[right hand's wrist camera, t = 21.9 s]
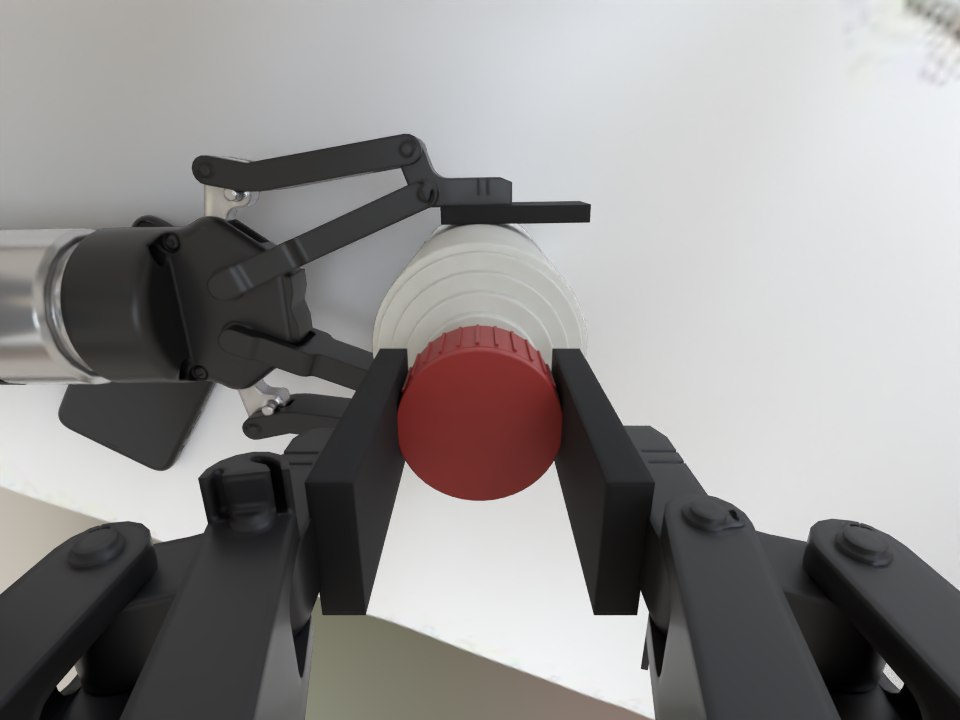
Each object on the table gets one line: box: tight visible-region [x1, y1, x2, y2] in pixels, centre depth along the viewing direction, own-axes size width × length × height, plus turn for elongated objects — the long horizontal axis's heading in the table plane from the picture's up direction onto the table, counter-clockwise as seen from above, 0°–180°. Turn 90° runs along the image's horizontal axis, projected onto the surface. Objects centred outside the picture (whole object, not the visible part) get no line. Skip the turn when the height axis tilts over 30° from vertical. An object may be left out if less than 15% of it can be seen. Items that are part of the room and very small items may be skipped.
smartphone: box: [58, 215, 216, 471], centre depth 32 cm, size 8×1×16 cm
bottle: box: [372, 224, 587, 371], centre depth 22 cm, size 8×8×19 cm
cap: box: [397, 324, 562, 501], centre depth 14 cm, size 4×4×2 cm
